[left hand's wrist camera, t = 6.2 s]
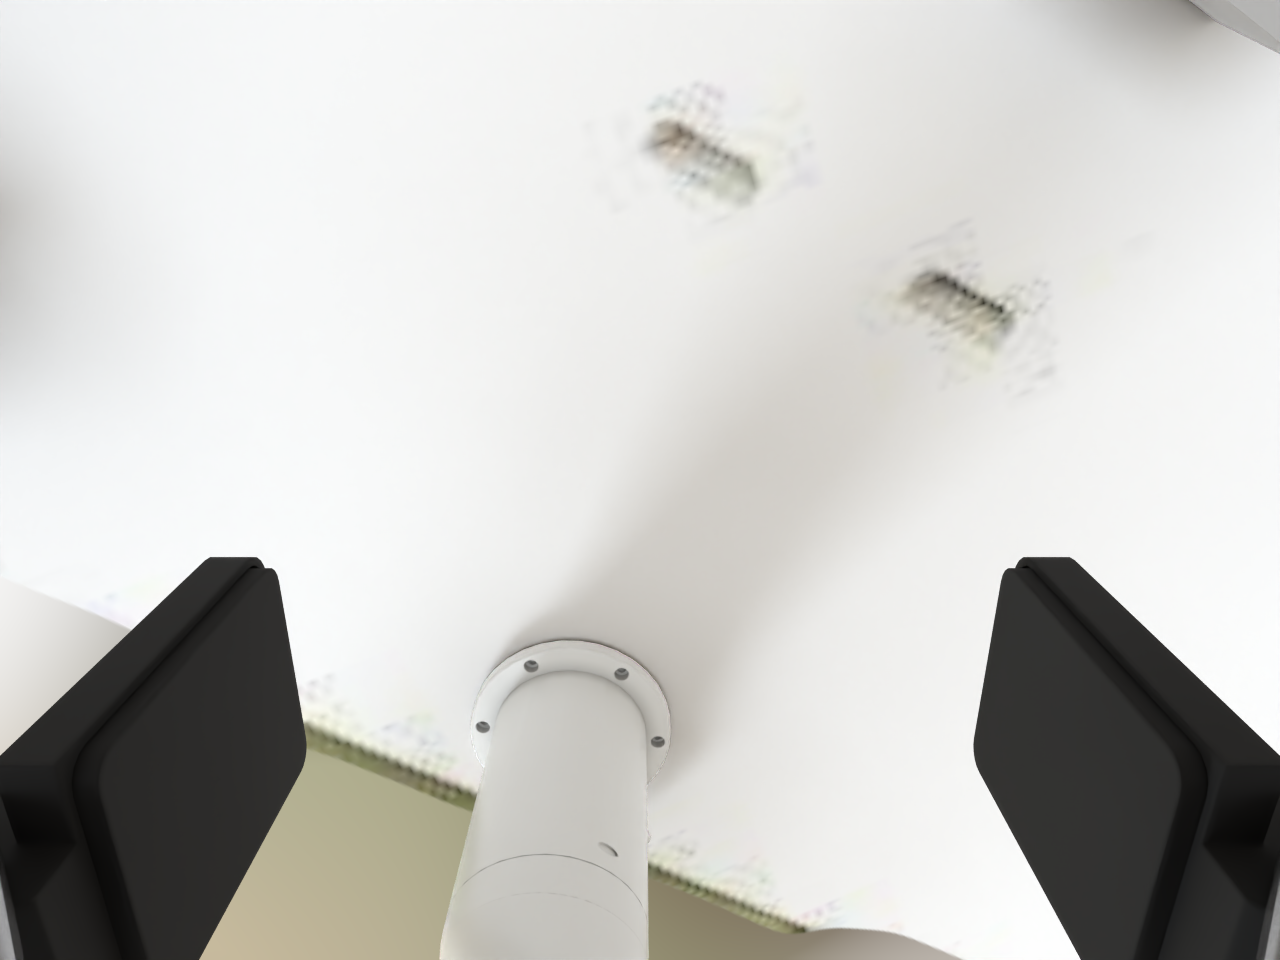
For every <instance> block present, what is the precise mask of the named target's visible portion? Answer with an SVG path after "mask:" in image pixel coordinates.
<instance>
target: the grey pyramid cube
mask: <svg viewBox="0 0 1280 960" xmlns="http://www.w3.org/2000/svg"><path fill="white" fill-rule="evenodd" d="M1189 1H1190V2H1192V3H1193V4H1194V5H1196V6H1197V7H1198V8H1199V9H1201V10H1202V11H1203V12H1205V13H1206V14H1207V15H1208V16H1210V17H1211V18H1212V19H1213V20H1215V21H1216V22H1218V23H1220V24H1222V25H1224V26H1226V27H1228V28H1230V29H1232V30H1234V31H1236V32H1238V33H1240V34H1242V35H1244V36H1246V37H1248V38H1249V39H1251V40H1253V41H1255V42H1257V43H1259V44H1261V45H1263V46H1265V47H1267V48H1269V49H1271V50H1273V51H1275V52H1277V53H1279V54H1280V0H1189Z"/></svg>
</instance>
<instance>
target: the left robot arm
mask: <svg viewBox="0 0 1280 960" xmlns="http://www.w3.org/2000/svg"><path fill="white" fill-rule="evenodd" d="M531 660H533V661H531ZM620 668H624V669H620ZM470 731H471V738H472V745H473V748H474V750H475V753H476V756H477V758H478V761H479V762H480V764H481V765H482V767H483V768H484V770H483V774H482V778H481V782H480V785H479V789H478V793H477V797H476V801H475V805H474V809H473V813H472V817H471V821H470V826H469V829H468V833H467V837H466V841H465V845H464V849H463V853H462V857H461V861H460V865H459V869H458V873H457V877H456V881H455V885H454V889H453V893H452V897H451V901H450V905H449V909H448V913H447V918H446V922H445V926H444V930H443V934H442V940H441V946H440V960H649V942H648V843H649V841H650V838H651V835H650V833H649V831H648V829H647V785H648V784H649V783H650V782H651V781H652V779H653V778H654V777H655V776H656V775H657V774H658V772H659V770H660V768H661V767H662V765H663V763H664V762H665V759H666V756H667V753H668V750H669V747H670V737H671V723H670V713H669V709H668V706H667V702H666V699H665V697H664V695H663V693H662V691H661V689H660V687H659V685H658V684H657V682H656V681H655V680H654V679H653V678H652V676H651V675H650V674H649V673H648V671H647V670H645V669H644V668H643V667H642V666H640V665H639V664H638V663H637V662H636V661H634V660H633V659H631V658H630V657H628V656H626V655H624V654H622V653H621V652H619V651H617V650H614V649H612V648H609V647H606V646H603V645H600V644H596V643H590V642H584V641H554V642H547V643H541V644H538V645H535V646H532V647H529V648H526V649H523V650H521V651H520V652H518V653H516V654H514V655H512V656H511V657H509V658H507V659H506V660H505V661H503V662H502V663H501V664H500V665H499V666H498V667H496V668H495V669H494V670H493V671H492V673H491V674H490V675H489V676H488V678H487V679H486V680H485V682H484V683H483V685H482V687H481V689H480V691H479V693H478V695H477V697H476V701H475V704H474V708H473V711H472V716H471V724H470ZM305 757H306V736H305V730H304V724H303V718H302V713H301V707H300V701H299V695H298V689H297V684H296V678H295V672H294V666H293V660H292V655H291V649H290V643H289V637H288V631H287V626H286V620H285V614H284V608H283V602H282V597H281V591H280V585H279V580H278V576H277V574H276V572H275V570H273V569H272V568H264V565H263V564H262V562H261V560H259V559H258V558H257V557H210V558H208V559H207V560H205V561H204V562H203V563H202V564H201V565H200V566H199V567H198V568H197V569H196V570H195V571H194V572H192V573H191V574H190V575H189V576H188V577H187V578H186V579H185V580H184V581H183V582H182V583H181V584H180V585H179V586H178V587H177V588H176V589H175V590H174V591H173V592H171V593H170V594H169V595H168V596H167V597H166V598H165V599H164V600H163V601H162V602H161V603H160V604H159V605H158V606H157V607H156V608H155V609H154V610H153V611H152V612H150V613H149V614H148V615H147V616H146V617H145V618H144V619H143V620H142V621H141V622H140V623H139V624H138V625H137V626H136V627H135V628H134V629H133V630H132V631H131V632H130V633H128V634H127V635H126V636H125V637H124V638H123V639H122V640H121V641H120V642H119V643H118V644H117V645H116V646H115V647H114V648H113V649H112V650H111V651H110V652H109V653H107V654H106V655H105V656H104V657H103V658H102V659H101V660H100V661H99V662H98V663H97V664H96V665H95V666H94V667H93V668H92V669H91V670H90V671H89V672H88V673H86V674H85V675H84V676H83V677H82V678H81V679H80V680H79V681H78V682H77V683H76V684H75V685H74V686H73V687H72V688H71V689H70V690H69V691H68V692H67V693H66V694H64V695H63V696H62V697H61V698H60V699H59V700H58V701H57V702H56V703H55V704H54V705H53V706H52V707H51V708H50V709H49V710H48V711H47V712H46V713H45V714H44V715H42V716H41V717H40V718H39V719H38V720H37V721H36V722H35V723H34V724H33V725H32V726H31V727H30V728H29V729H28V730H27V731H26V732H25V733H24V734H23V735H21V737H19V738H18V739H17V740H16V741H15V742H14V743H13V744H12V745H11V746H10V747H9V748H8V749H7V750H6V751H5V752H4V753H3V754H2V755H0V960H199V959H200V957H201V955H202V953H203V951H204V950H205V948H206V946H207V944H208V942H209V940H210V939H211V937H212V935H213V933H214V931H215V929H216V927H217V926H218V924H219V922H220V920H221V918H222V916H223V915H224V913H225V911H226V909H227V907H228V905H229V903H230V902H231V900H232V898H233V896H234V894H235V892H236V891H237V889H238V887H239V885H240V883H241V881H242V880H243V878H244V876H245V874H246V872H247V870H248V868H249V867H250V865H251V863H252V861H253V859H254V857H255V855H256V854H257V852H258V850H259V848H260V846H261V844H262V842H263V841H264V839H265V837H266V835H267V833H268V832H269V830H270V828H271V826H272V824H273V822H274V820H275V819H276V817H277V815H278V813H279V811H280V809H281V807H282V806H283V804H284V802H285V800H286V798H287V796H288V795H289V793H290V791H291V789H292V787H293V785H294V784H295V782H296V780H297V778H298V776H299V774H300V772H301V770H302V768H303V765H304V762H305ZM974 757H975V762H976V765H977V768H978V770H979V772H980V774H981V776H982V778H983V780H984V782H985V784H986V785H987V787H988V789H989V791H990V793H991V795H992V796H993V798H994V800H995V802H996V804H997V806H998V808H999V809H1000V811H1001V813H1002V815H1003V817H1004V819H1005V820H1006V822H1007V824H1008V826H1009V828H1010V830H1011V832H1012V833H1013V835H1014V837H1015V839H1016V841H1017V843H1018V844H1019V846H1020V848H1021V850H1022V852H1023V854H1024V856H1025V857H1026V859H1027V861H1028V863H1029V865H1030V867H1031V868H1032V870H1033V872H1034V874H1035V876H1036V878H1037V880H1038V881H1039V883H1040V885H1041V887H1042V889H1043V891H1044V892H1045V894H1046V896H1047V898H1048V900H1049V902H1050V904H1051V905H1052V907H1053V909H1054V911H1055V913H1056V915H1057V916H1058V918H1059V920H1060V922H1061V924H1062V926H1063V927H1064V929H1065V931H1066V933H1067V935H1068V937H1069V939H1070V940H1071V942H1072V944H1073V946H1074V948H1075V950H1076V951H1077V953H1078V955H1079V957H1080V959H1081V960H1280V755H1278V754H1277V753H1276V752H1275V751H1274V750H1273V749H1272V748H1271V747H1270V746H1269V745H1268V744H1267V743H1266V742H1265V741H1264V740H1263V739H1262V738H1261V737H1260V736H1259V735H1258V734H1256V733H1255V732H1254V731H1253V730H1252V729H1251V728H1250V727H1249V726H1248V725H1247V724H1246V723H1245V722H1244V721H1243V720H1242V719H1241V718H1240V717H1239V716H1238V715H1237V714H1235V713H1234V712H1233V711H1232V710H1231V709H1230V708H1229V707H1228V706H1227V705H1226V704H1225V703H1224V702H1223V701H1222V700H1221V699H1220V698H1219V697H1218V696H1217V695H1216V694H1214V693H1213V692H1212V691H1211V690H1210V689H1209V688H1208V687H1207V686H1206V685H1205V684H1204V683H1203V682H1202V681H1201V680H1200V679H1199V678H1198V677H1197V676H1196V675H1195V674H1194V673H1192V672H1191V671H1190V670H1189V669H1188V668H1187V667H1186V666H1185V665H1184V664H1183V663H1182V662H1181V661H1180V660H1179V659H1178V658H1177V657H1176V656H1175V655H1174V654H1173V653H1171V652H1170V651H1169V650H1168V649H1167V648H1166V647H1165V646H1164V645H1163V644H1162V643H1161V642H1160V641H1159V640H1158V639H1157V638H1156V637H1155V636H1154V635H1153V634H1152V633H1150V632H1149V631H1148V630H1147V629H1146V628H1145V627H1144V626H1143V625H1142V624H1141V623H1140V622H1139V621H1138V620H1137V619H1136V618H1135V617H1134V616H1133V615H1132V614H1131V613H1130V612H1128V611H1127V610H1126V609H1125V608H1124V607H1123V606H1122V605H1121V604H1120V603H1119V602H1118V601H1117V600H1116V599H1115V598H1114V597H1113V596H1112V595H1111V594H1110V593H1109V592H1107V591H1106V590H1105V589H1104V588H1103V587H1102V586H1101V585H1100V584H1099V583H1098V582H1097V581H1096V580H1095V579H1094V578H1093V577H1092V576H1091V575H1090V574H1089V573H1088V572H1086V571H1085V570H1084V569H1083V568H1082V567H1081V566H1080V565H1079V564H1078V563H1077V562H1076V561H1075V560H1073V559H1072V558H1070V557H1023V558H1022V559H1021V560H1019V562H1018V564H1017V565H1016V568H1008V569H1007V570H1005V572H1004V574H1003V576H1002V580H1001V585H1000V591H999V597H998V602H997V608H996V614H995V620H994V626H993V631H992V637H991V643H990V649H989V655H988V660H987V666H986V672H985V678H984V684H983V689H982V695H981V701H980V707H979V713H978V718H977V724H976V730H975V736H974Z"/></svg>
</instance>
